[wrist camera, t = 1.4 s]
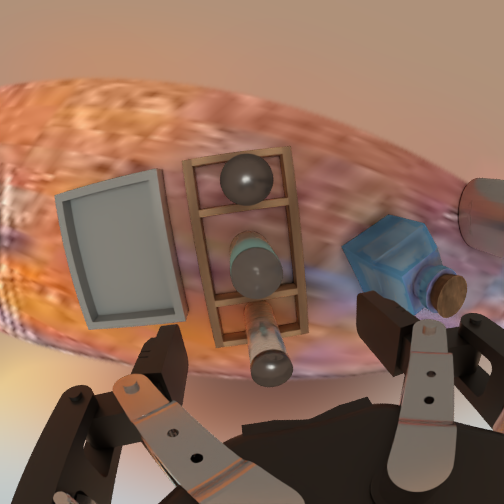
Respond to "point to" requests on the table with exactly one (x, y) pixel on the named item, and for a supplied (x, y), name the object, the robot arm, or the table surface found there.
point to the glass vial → (246, 179)
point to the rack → (289, 200)
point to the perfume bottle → (405, 267)
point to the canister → (266, 346)
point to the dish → (122, 252)
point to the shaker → (254, 266)
